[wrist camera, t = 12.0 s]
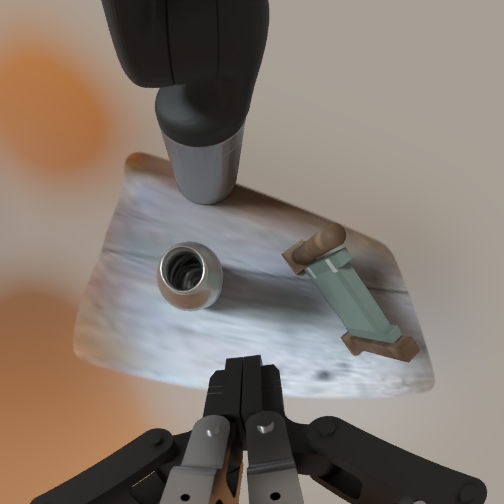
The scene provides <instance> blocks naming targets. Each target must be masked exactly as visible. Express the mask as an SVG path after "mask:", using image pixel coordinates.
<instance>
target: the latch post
mask: <svg viewBox="0 0 504 504" xmlns="http://www.w3.org/2000/svg"><path fill="white" fill-rule="evenodd" d="M341 339H342V340H343V342H344V343H345V345H346V346H347V348H348V349H349V350H350V352H351V353H352V355H354V356H356V355H357V354H358V353H359V352H360V351H361V350H363V351H367V352H370V353H374V354H378V355H382V356H385V357H389V358H393V359H397V360H401V361H405V362H410V361H411V360H412V359H413V357H414V356H415V355H416V354H417V353H418V352H419V351H420V349H419V347H418V346H417V344H416V342H415V341H414V339H413V337H404V336H401V337H400V338H399V339H398V340H397V341H396V342H395V343H388V342H383V341H378V340H372V339H367V338H362V337H357V336H352V335H350V333H349V332H347V333H345V334H344V335H343V336H342V337H341Z"/></svg>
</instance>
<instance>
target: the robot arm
mask: <svg viewBox="0 0 504 504" xmlns="http://www.w3.org/2000/svg"><path fill="white" fill-rule="evenodd" d="M101 1H102V5H103V8H104V12H105V16H106V20H107V23H108V27H109V31H110V34H111V38H112V41H113V44H114V47H115V50H116V53H117V56H118V59H119V62H120V63H121V66H122V68H123V70H124V72H125V74H126V75H127V76H128V77H129V79H130V80H131V81H132V82H133V83H134V84H136V85H138V86H140V87H144V88H160V89H159V91H158V93H157V96H156V100H155V112H156V116H157V120H158V123H159V126H160V130H161V133H162V136H163V139H164V142H165V146H166V149H167V152H168V155H169V159H170V162H171V165H172V169H173V172H174V175H175V178H176V181H177V184H178V187H179V190H180V191H181V193H182V194H183V195H184V196H185V197H186V198H187V199H188V200H190V201H192V202H194V203H197V204H204V205H207V204H214V203H217V202H219V201H221V200H223V199H225V198H226V197H227V196H228V195H229V194H230V193H231V192H232V190H233V188H234V186H235V184H236V179H237V173H238V166H239V159H240V153H241V146H242V140H243V133H244V126H245V120H246V116H247V114H248V111H249V108H250V103H251V98H252V94H253V90H254V86H255V82H256V78H257V75H258V72H259V69H260V65H261V62H262V58H263V54H264V50H265V45H266V40H267V34H268V26H269V3H268V0H101ZM245 450H246V451H248V461H249V462H248V463H249V467H248V468H247V480H248V492H249V504H304V501H303V496H302V492H301V488H300V483H299V479H298V474H303V475H310V477H311V478H312V479H313V480H315V481H316V482H317V483H319V484H320V485H322V486H323V487H325V488H326V489H328V490H330V491H331V492H333V493H334V494H336V495H338V496H339V497H341V498H342V499H344V500H346V501H347V502H349V503H351V504H484V502H485V500H486V497H487V489H486V486H485V484H484V483H483V482H482V481H481V480H480V479H477V478H475V477H472V476H469V475H466V474H463V473H461V472H458V471H455V470H452V469H450V468H447V467H444V466H442V465H439V464H437V463H434V462H431V461H429V460H427V459H424V458H422V457H420V456H417V455H415V454H412V453H410V452H408V451H405V450H403V449H401V448H399V447H397V446H394V445H392V444H390V443H388V442H386V441H384V440H382V439H379V438H377V437H375V436H373V435H371V434H369V433H367V432H365V431H363V430H361V429H359V428H357V427H355V426H353V425H351V424H349V423H347V422H345V421H344V420H342V419H340V418H337V417H333V416H324V417H320V418H317V419H315V420H314V421H312V422H311V423H310V424H299V423H295V422H293V421H291V420H289V419H288V418H287V417H286V416H285V412H284V404H283V394H282V387H281V380H280V373H279V370H278V369H277V368H276V367H275V365H274V364H272V365H265V366H263V365H262V359H261V355H255V356H247V357H244V358H243V357H238V358H229V359H226V365H225V370H218V371H215V373H214V374H213V375H212V376H211V378H210V381H209V388H208V392H207V397H206V402H205V408H204V413H203V418H201V419H200V420H198V421H197V422H196V423H195V425H194V427H193V430H191V431H189V432H186V433H182V434H178V435H174V436H172V434H171V433H170V432H169V431H167V430H165V429H160V428H156V429H151V430H149V431H146V432H145V433H143V434H142V435H141V436H139V437H137V438H136V439H134V440H133V441H131V442H130V443H128V444H127V445H125V446H124V447H122V448H121V449H119V450H117V451H116V452H114V453H113V454H111V455H110V456H108V457H107V458H105V459H103V460H102V461H100V462H98V463H97V464H95V465H94V466H92V467H90V468H88V469H87V470H85V471H83V472H82V473H80V474H78V475H77V476H75V477H73V478H71V479H70V480H68V481H66V482H64V483H63V484H61V485H59V486H57V487H55V488H54V489H52V490H50V491H48V492H46V493H44V494H42V495H40V496H38V497H36V498H35V499H34V500H32V502H31V503H30V504H239V495H240V487H241V480H242V473H243V462H242V460H243V451H245ZM153 471H155V472H153ZM152 472H153V473H152ZM151 473H152V474H151ZM149 474H150V475H149ZM148 475H149V476H148ZM146 476H148V477H146ZM145 477H146V478H145ZM143 478H145V479H143ZM142 479H143V480H142ZM140 480H142V481H141V482H139V481H140ZM138 482H139V483H138ZM136 483H138V484H136ZM135 484H136V485H135ZM133 485H135V486H133ZM132 486H133V487H132Z"/></svg>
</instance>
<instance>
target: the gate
mask: <svg viewBox="0 0 504 504" xmlns="http://www.w3.org/2000/svg"><path fill="white" fill-rule="evenodd" d="M352 258H353V257H352V256H351V254H350V253H349V252H348V250H347V249H346V247H345V248H343V249H341V250H338V251H336V252H334V253H332V254H330V255H328V256H326V257H324V258H322V259H319V260H317V261H315V262H313V263H311V264H310V265H309V266H308V267H306V268H305V269H304V270H305V271H306V273H307V274H308V276H309V277H310V278H311V279H312V281H313V282H314V283H315V285H316V286H317V287H318V289H319V290H320V292H321V293H322V294H323V296H324V297H325V299H326V300H327V301H328V303H329V304H330V306H331V307H332V309H333V310H334V311H335V313H336V314H337V316H338V317H339V318H340V320H341V321H342V323H343V324H344V326H345V327H346V329H347V330H348V332H349V333H350V335H352V336H357V337H362V338H367V339H372V340H378V341H383V342H388V343H395V342H396V341H397V340H398V339H399V338H400V337H401V336H402V334H403V333H402V332H401V330H400V328H399V327H398V325H391V324H390V323H389V321H388V320H387V318H386V317H385V315H384V313H383V312H382V310H381V309H380V307H379V306H378V304H377V303H376V301H375V300H374V298H373V297H372V295H371V294H370V292H369V291H368V289H367V288H366V286H365V285H364V283H363V282H362V280H361V279H360V277H359V276H358V275H357V273H356V272H355V270H354V269H353V267H352V266H351V264H350V263H349V262H348V261H350V260H351V259H352Z"/></svg>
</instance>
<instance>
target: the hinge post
mask: <svg viewBox="0 0 504 504" xmlns="http://www.w3.org/2000/svg"><path fill="white" fill-rule="evenodd" d="M345 239H346V232H345V230H344V228H343V227H342V226H341V225H340V224H337V223H331V224H329V225H327V226H326V227H325V228H323V229H322V230H321V231H319V232H318V233H317V234H315V235H314V236H313V237H311V238H310V239H309V240H307V241H306V242H305V243H304V241H303V240H301V241H299V242H298V243H296V244H295V245H294V246H292V247H291V248H290V249H288V250H287V251H285V252H284V253H283V254H281V255H282V256H283V257H284V259H285V260H286V262H287V263H288V264H289V266H290V267H291V268H292V270H293V271H294V273H295V274H298V273H299V272H301V271H302V270H303V269H305V268H306V267H307V266H309V265H310V264H311V263H312V262H314V261H315V260H316V257H318V256H320V255H322V254H324V253H326V252H328V251H330V250H332V249H334V248H336V247H338V246H340V245H342V244H343V243H344V241H345Z"/></svg>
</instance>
